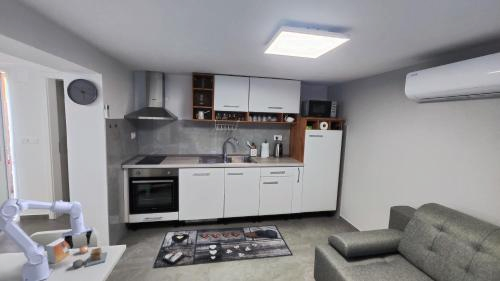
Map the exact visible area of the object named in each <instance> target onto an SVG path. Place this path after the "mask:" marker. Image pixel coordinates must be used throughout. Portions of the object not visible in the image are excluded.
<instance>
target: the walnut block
mask: <svg viewBox="0 0 500 281" xmlns="http://www.w3.org/2000/svg"><path fill="white" fill-rule="evenodd" d="M102 253H103V252H102V247H97V248H92V249H91V252H90V255H89V256H91V262H94V261H97V260H101V257H102Z"/></svg>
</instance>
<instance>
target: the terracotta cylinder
mask: <svg viewBox="0 0 500 281" xmlns="http://www.w3.org/2000/svg"><path fill="white" fill-rule="evenodd" d="M88 247H89V246H88V245H83V246H81V247H80V248H79V255H85V253H86V254H87V253H89V249H88Z"/></svg>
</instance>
